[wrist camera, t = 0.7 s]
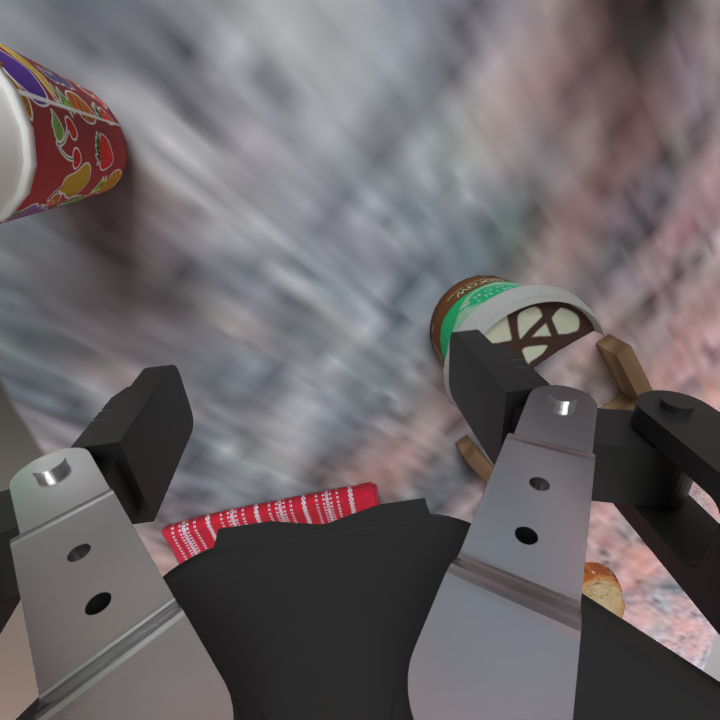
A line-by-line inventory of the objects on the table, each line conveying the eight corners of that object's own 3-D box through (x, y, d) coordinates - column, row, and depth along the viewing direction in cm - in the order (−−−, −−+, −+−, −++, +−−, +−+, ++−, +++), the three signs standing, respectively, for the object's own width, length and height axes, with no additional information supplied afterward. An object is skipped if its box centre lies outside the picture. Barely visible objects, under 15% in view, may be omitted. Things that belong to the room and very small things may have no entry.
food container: (515, 233, 35) (591, 256, 26) (537, 292, 37) (612, 330, 28) (392, 308, 36) (424, 354, 27) (422, 359, 39) (459, 416, 30)
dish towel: (393, 573, 52) (397, 592, 50) (211, 614, 51) (206, 635, 48) (378, 474, 45) (382, 491, 42) (163, 517, 43) (155, 538, 41)
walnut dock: (608, 334, 40) (630, 345, 38) (639, 393, 44) (661, 408, 42) (455, 442, 44) (465, 460, 41) (497, 489, 48) (508, 508, 45)
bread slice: (585, 552, 56) (603, 576, 53) (649, 592, 63) (669, 615, 59) (494, 625, 60) (506, 652, 57) (563, 655, 67) (577, 680, 64)
